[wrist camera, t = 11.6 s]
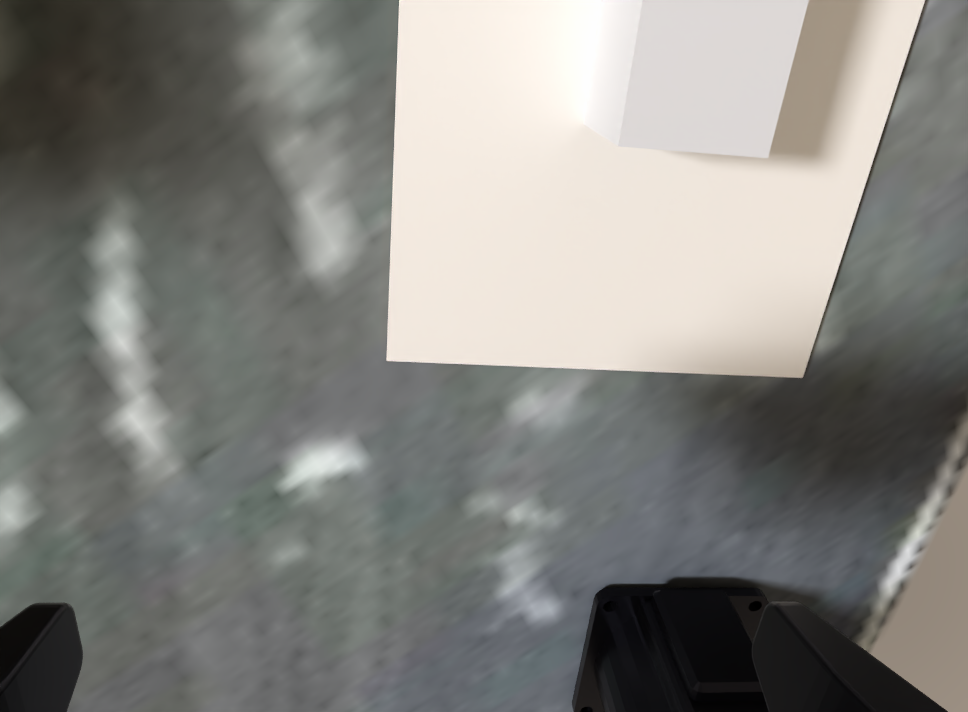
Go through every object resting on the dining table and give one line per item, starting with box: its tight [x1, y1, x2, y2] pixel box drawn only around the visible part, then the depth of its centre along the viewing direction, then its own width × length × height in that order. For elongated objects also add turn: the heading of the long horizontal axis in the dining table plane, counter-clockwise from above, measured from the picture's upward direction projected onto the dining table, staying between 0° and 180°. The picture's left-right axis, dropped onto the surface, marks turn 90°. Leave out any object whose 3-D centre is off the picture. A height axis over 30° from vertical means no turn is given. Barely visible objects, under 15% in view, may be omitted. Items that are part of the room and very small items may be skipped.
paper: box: [387, 0, 925, 378], centre depth 17 cm, size 18×13×1 cm
